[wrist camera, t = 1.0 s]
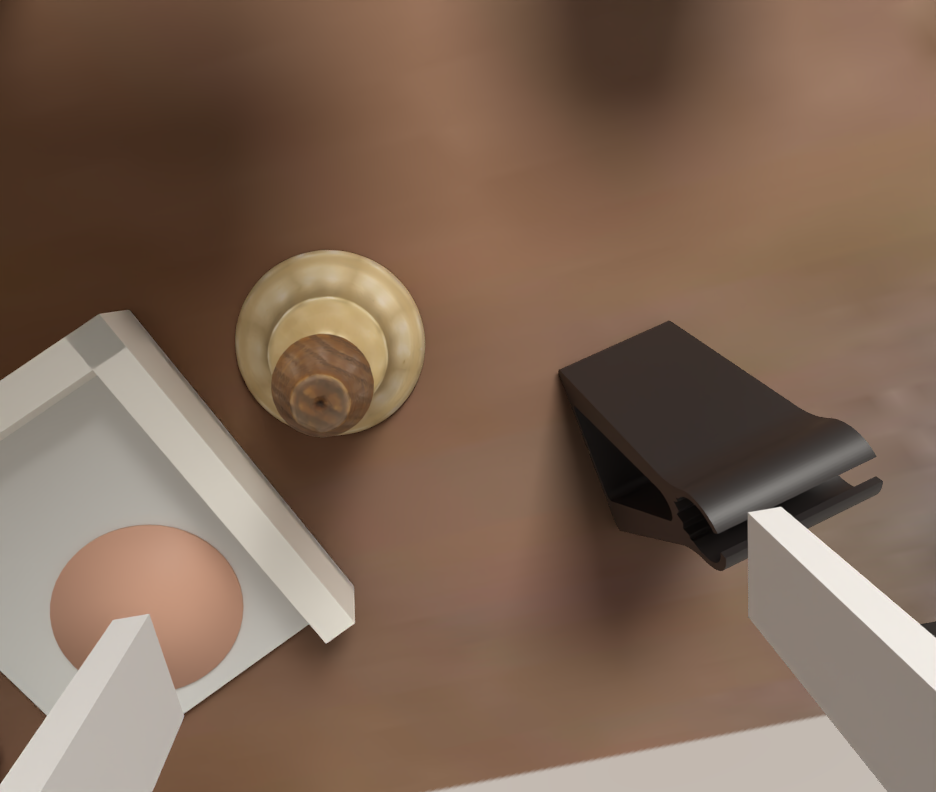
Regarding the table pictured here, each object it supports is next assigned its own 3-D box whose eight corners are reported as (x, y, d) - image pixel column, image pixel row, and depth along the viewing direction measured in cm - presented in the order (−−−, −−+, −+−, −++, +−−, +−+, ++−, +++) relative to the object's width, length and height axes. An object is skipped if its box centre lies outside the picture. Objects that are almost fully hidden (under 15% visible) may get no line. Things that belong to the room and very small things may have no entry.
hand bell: (216, 265, 28) (57, 248, 13) (408, 237, 29) (477, 191, 14) (257, 450, 30) (161, 636, 14) (437, 416, 31) (528, 554, 15)
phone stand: (718, 480, 34) (910, 583, 23) (616, 528, 34) (758, 659, 22) (666, 319, 32) (848, 343, 21) (556, 368, 32) (679, 420, 20)
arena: (-158, 503, 27) (-230, 535, 24) (129, 309, 28) (99, 313, 24) (108, 761, 31) (79, 821, 28) (353, 586, 32) (354, 623, 28)
